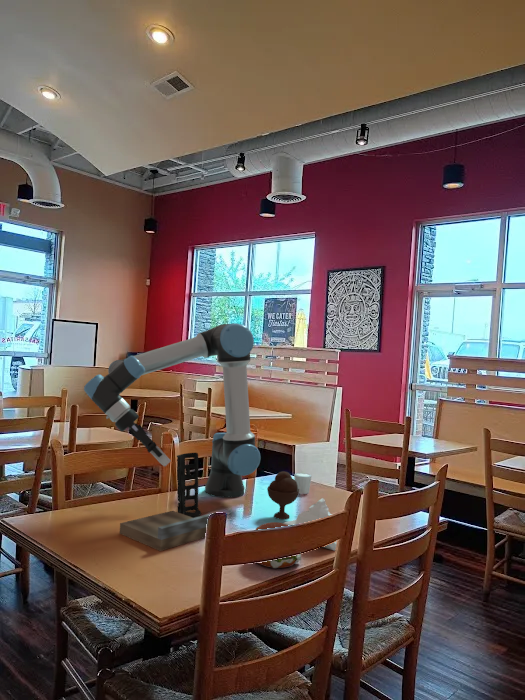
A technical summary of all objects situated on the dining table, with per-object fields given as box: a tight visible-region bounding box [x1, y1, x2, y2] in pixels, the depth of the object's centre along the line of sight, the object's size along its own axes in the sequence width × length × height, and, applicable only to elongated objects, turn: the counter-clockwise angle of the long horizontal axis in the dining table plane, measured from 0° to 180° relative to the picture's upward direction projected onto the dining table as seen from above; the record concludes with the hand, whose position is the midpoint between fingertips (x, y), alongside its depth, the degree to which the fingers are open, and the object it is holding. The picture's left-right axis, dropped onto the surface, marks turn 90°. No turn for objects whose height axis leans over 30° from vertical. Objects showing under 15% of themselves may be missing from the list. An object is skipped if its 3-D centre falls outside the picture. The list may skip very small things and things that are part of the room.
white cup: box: [293, 472, 312, 495], centre depth 222 cm, size 7×7×7 cm
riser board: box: [119, 510, 211, 552], centre depth 162 cm, size 20×18×6 cm
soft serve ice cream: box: [283, 497, 337, 552], centre depth 163 cm, size 12×15×14 cm
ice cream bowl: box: [267, 470, 299, 520], centre depth 187 cm, size 11×11×15 cm
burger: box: [255, 521, 302, 569], centre depth 147 cm, size 13×14×10 cm
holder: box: [176, 452, 202, 518], centre depth 182 cm, size 11×8×20 cm
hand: (166, 463), depth 183 cm, fingers open, 13 cm apart
